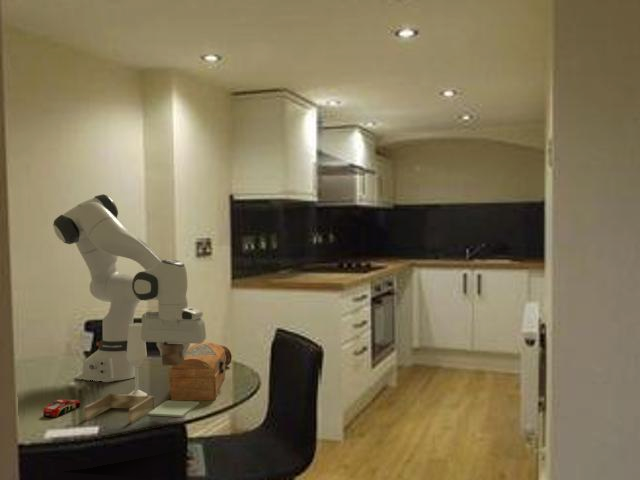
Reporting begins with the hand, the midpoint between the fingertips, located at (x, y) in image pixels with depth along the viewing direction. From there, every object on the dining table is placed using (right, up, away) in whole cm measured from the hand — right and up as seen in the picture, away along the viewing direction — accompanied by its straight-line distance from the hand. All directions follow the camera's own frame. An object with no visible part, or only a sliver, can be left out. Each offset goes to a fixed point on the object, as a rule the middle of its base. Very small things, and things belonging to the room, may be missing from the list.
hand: (173, 356), depth 193 cm
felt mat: (0, -17, 0) cm, 17 cm away
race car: (-34, -17, -2) cm, 38 cm away
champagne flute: (-16, -16, +17) cm, 28 cm away
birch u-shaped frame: (-15, -17, -5) cm, 23 cm away
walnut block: (0, -2, 0) cm, 2 cm away
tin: (+3, -15, +61) cm, 63 cm away
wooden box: (+4, -16, +26) cm, 31 cm away
